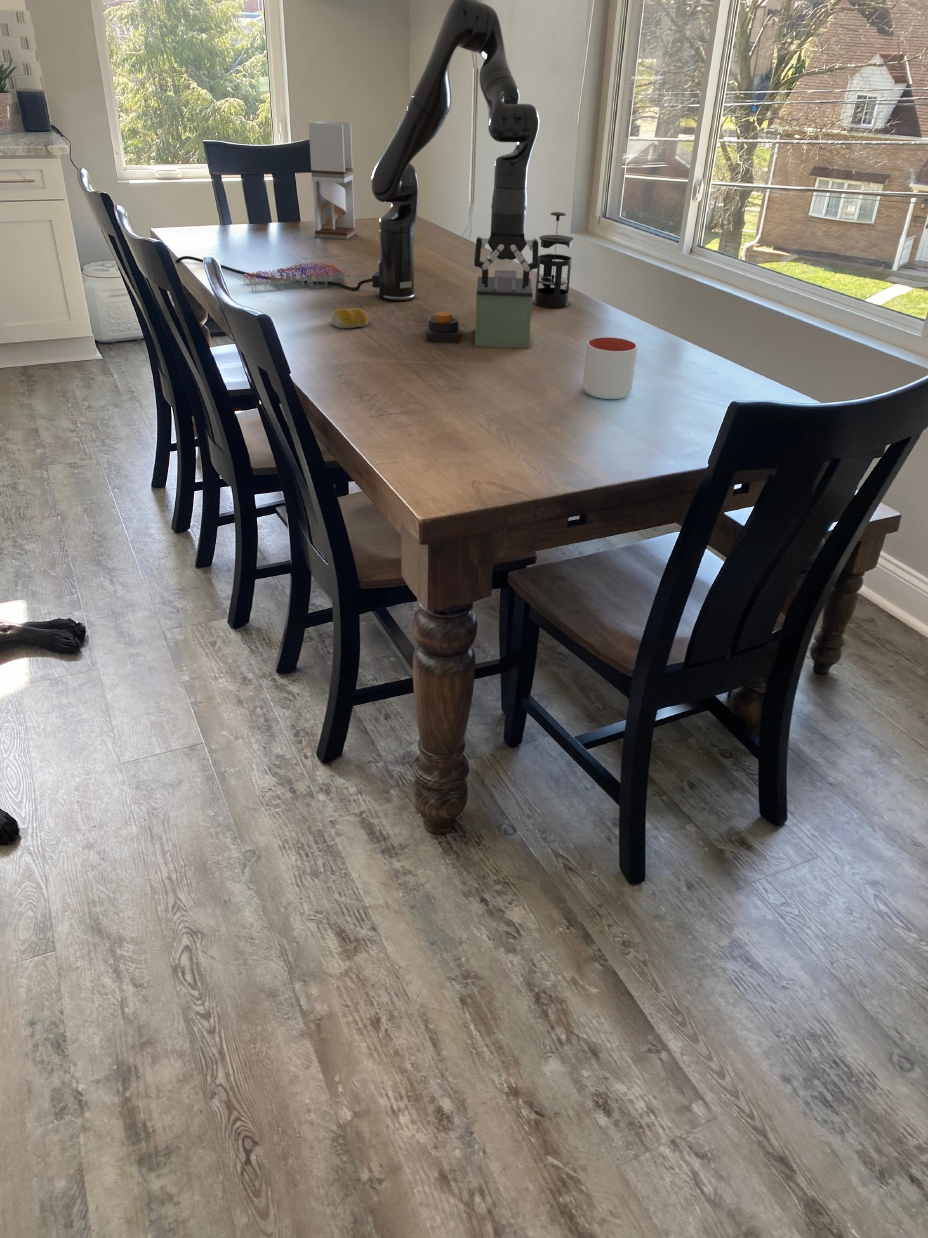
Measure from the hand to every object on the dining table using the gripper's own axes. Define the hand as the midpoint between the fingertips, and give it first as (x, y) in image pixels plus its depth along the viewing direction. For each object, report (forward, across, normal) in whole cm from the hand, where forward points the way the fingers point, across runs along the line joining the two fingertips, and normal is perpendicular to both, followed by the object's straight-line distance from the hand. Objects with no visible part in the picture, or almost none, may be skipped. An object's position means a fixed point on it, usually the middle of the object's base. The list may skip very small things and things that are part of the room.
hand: (504, 287), depth 202 cm
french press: (+13, -14, -41) cm, 46 cm away
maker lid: (+1, 0, -5) cm, 5 cm away
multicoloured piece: (+13, +58, -51) cm, 79 cm away
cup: (+13, -22, +31) cm, 40 cm away
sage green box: (+13, 0, -5) cm, 14 cm away
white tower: (+13, +58, -125) cm, 139 cm away
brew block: (+13, +14, -5) cm, 20 cm away
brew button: (+10, +14, -5) cm, 18 cm away
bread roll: (+13, +38, -12) cm, 42 cm away
